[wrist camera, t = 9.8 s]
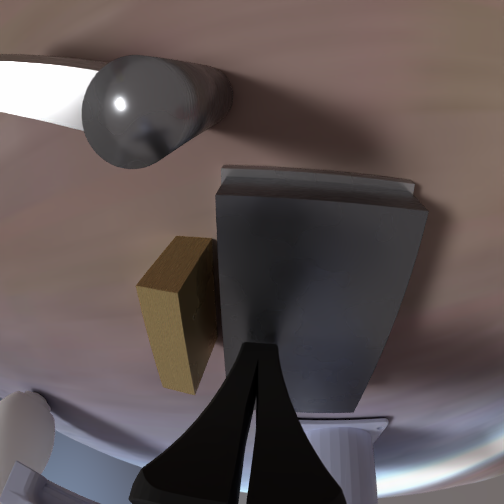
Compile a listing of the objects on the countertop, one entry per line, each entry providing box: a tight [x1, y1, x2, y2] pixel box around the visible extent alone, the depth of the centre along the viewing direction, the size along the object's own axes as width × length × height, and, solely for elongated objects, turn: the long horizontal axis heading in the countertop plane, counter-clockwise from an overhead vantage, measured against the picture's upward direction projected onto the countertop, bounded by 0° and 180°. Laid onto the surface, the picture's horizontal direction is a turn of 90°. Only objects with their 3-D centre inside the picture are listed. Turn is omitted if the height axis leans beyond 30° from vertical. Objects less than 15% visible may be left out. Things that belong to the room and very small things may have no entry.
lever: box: [0, 54, 233, 169], centre depth 7 cm, size 12×2×6 cm, turn 70°
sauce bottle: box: [0, 391, 55, 504], centre depth 18 cm, size 8×8×18 cm
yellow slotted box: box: [136, 236, 217, 395], centre depth 13 cm, size 6×4×2 cm
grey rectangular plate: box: [215, 165, 429, 413], centre depth 14 cm, size 13×7×2 cm, turn 179°
